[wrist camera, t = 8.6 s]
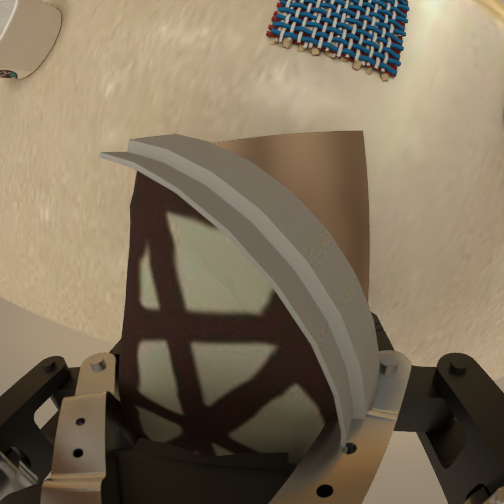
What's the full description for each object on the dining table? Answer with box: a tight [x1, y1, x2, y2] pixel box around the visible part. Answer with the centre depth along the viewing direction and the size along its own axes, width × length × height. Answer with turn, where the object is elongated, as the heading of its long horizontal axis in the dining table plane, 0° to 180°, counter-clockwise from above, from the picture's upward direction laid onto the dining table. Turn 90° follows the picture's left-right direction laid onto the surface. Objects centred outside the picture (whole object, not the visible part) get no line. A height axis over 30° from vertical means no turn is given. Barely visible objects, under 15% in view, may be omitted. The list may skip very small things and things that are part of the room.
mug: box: [0, 0, 61, 79], centre depth 15 cm, size 13×10×8 cm
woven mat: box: [266, 0, 409, 80], centre depth 15 cm, size 10×11×2 cm
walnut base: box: [213, 131, 370, 303], centre depth 21 cm, size 14×16×3 cm
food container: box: [100, 134, 380, 465], centre depth 9 cm, size 12×6×10 cm, turn 167°
